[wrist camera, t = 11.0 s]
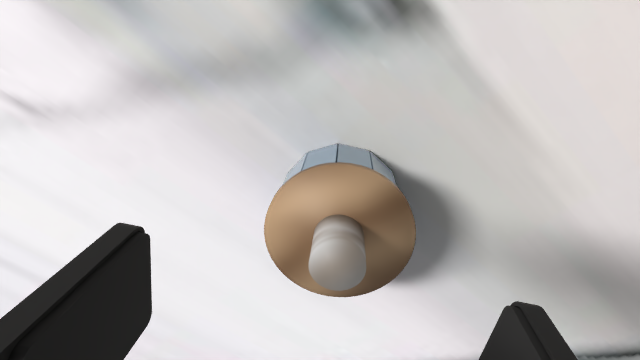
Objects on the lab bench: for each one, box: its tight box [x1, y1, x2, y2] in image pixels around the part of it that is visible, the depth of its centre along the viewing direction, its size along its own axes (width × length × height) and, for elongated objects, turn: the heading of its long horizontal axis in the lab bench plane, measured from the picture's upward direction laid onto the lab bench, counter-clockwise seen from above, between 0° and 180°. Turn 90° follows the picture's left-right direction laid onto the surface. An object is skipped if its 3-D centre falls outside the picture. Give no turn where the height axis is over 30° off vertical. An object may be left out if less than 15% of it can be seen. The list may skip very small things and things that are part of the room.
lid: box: [264, 162, 416, 297], centre depth 27 cm, size 12×12×5 cm
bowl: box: [283, 144, 397, 186], centre depth 32 cm, size 11×11×6 cm
